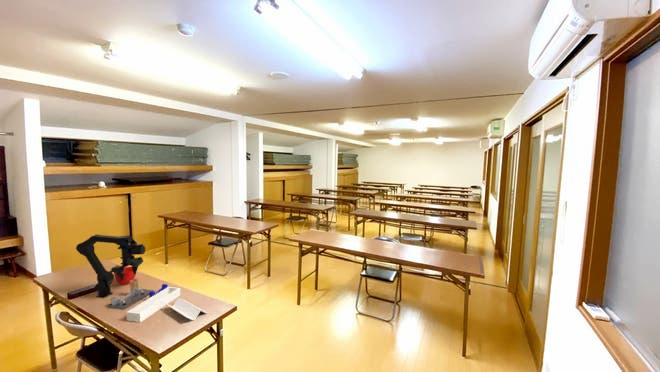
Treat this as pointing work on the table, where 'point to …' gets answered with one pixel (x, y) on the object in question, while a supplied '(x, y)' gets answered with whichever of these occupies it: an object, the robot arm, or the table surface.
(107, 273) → the robot arm
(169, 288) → the block frame
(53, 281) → the table surface
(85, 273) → the table surface
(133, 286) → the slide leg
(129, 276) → the ceramic cup
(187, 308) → the z bracket
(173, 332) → the table surface
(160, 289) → the cable clip
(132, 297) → the plate
